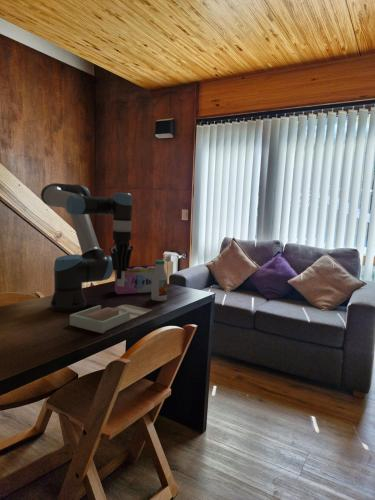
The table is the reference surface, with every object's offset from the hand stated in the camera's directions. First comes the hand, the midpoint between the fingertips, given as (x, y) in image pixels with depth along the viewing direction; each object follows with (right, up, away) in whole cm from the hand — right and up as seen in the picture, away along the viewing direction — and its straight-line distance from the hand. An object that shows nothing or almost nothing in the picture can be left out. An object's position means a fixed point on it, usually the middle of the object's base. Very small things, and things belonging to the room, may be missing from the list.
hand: (120, 285), depth 147 cm
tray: (-6, -14, -10) cm, 18 cm away
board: (+2, -12, +4) cm, 13 cm away
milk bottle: (+14, -10, +28) cm, 33 cm away
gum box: (0, -8, +43) cm, 44 cm away
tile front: (-7, -14, -11) cm, 19 cm away
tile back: (-4, -13, -6) cm, 15 cm away
